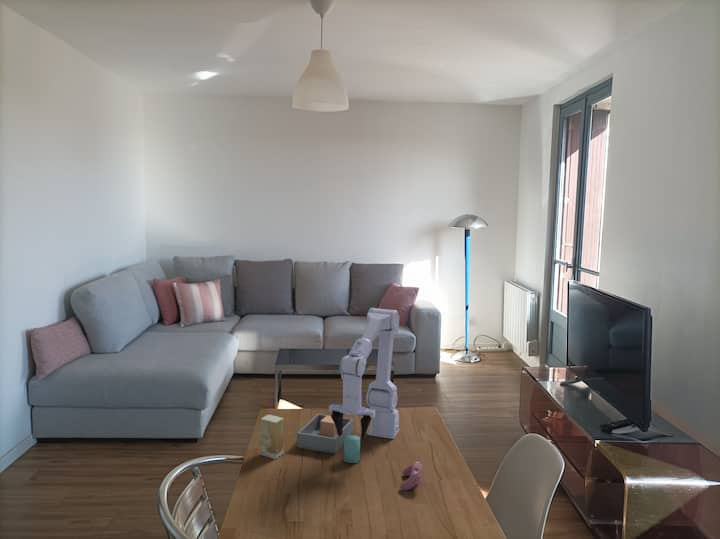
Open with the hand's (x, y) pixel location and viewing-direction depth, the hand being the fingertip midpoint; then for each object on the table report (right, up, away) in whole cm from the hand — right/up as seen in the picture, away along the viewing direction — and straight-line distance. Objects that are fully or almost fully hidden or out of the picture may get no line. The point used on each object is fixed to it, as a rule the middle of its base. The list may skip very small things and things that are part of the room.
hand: (351, 436), depth 172 cm
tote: (-9, -6, +15) cm, 19 cm away
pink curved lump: (+17, -10, -13) cm, 24 cm away
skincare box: (-25, -7, +4) cm, 27 cm away
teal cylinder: (0, -8, +1) cm, 8 cm away
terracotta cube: (-8, -5, +19) cm, 21 cm away
